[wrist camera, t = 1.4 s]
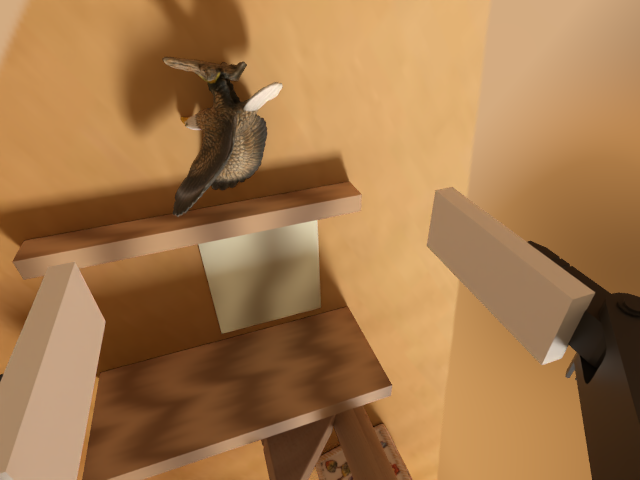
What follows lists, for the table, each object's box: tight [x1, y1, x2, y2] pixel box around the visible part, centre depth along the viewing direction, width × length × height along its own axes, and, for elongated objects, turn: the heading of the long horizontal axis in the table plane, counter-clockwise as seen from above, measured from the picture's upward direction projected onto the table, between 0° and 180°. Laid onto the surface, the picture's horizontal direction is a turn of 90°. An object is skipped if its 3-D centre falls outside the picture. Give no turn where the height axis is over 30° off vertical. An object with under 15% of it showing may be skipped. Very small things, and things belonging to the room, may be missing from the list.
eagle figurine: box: [163, 57, 282, 217], centre depth 24 cm, size 8×7×9 cm
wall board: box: [13, 181, 392, 480], centre depth 30 cm, size 24×16×10 cm, turn 92°
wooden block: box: [261, 405, 398, 480], centre depth 36 cm, size 4×11×18 cm, turn 83°
